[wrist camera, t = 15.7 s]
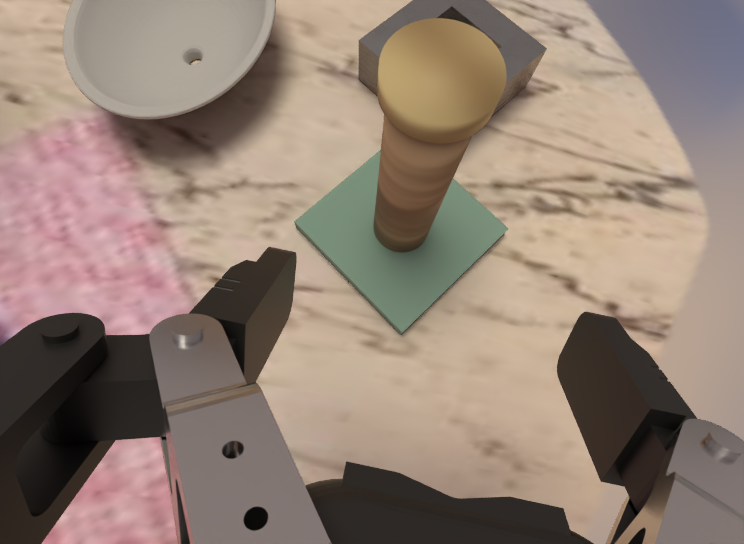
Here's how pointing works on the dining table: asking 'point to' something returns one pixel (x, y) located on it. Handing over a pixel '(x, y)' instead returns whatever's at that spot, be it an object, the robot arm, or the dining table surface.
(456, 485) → the dining table surface
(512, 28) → the grey square socket block
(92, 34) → the dish
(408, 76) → the peg
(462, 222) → the mat
